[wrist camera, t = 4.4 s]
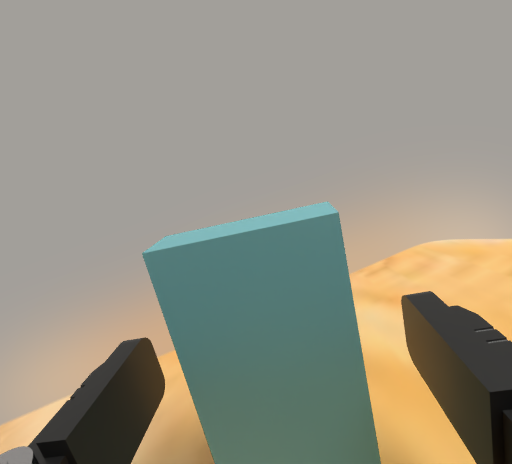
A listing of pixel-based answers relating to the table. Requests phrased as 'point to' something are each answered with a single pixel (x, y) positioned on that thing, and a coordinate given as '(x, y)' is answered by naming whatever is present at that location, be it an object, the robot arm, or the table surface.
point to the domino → (269, 338)
